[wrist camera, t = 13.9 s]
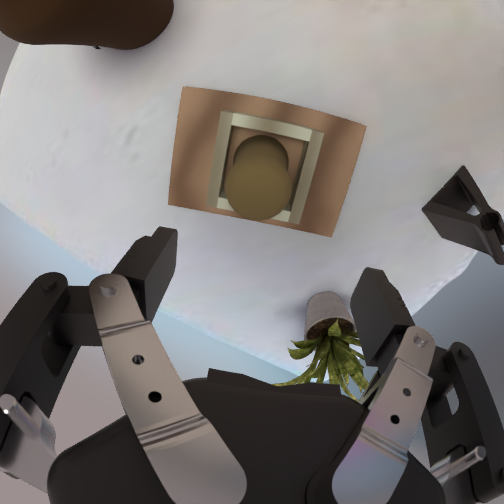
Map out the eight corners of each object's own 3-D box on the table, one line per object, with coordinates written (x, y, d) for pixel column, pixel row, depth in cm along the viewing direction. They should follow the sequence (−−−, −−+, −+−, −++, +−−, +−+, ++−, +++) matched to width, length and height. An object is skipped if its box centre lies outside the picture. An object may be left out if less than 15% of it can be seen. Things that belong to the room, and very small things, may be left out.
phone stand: (463, 164, 29) (521, 198, 18) (479, 195, 31) (532, 234, 20) (421, 208, 33) (469, 257, 22) (440, 236, 34) (484, 286, 24)
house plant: (264, 338, 45) (261, 429, 31) (270, 266, 38) (270, 367, 24) (349, 339, 45) (368, 425, 31) (372, 271, 38) (413, 362, 24)
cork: (221, 160, 30) (199, 193, 21) (262, 123, 28) (259, 136, 19) (259, 198, 32) (255, 246, 23) (300, 164, 30) (316, 198, 21)
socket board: (363, 125, 28) (376, 129, 25) (330, 233, 35) (336, 249, 32) (185, 86, 27) (174, 85, 24) (170, 201, 34) (159, 214, 31)
